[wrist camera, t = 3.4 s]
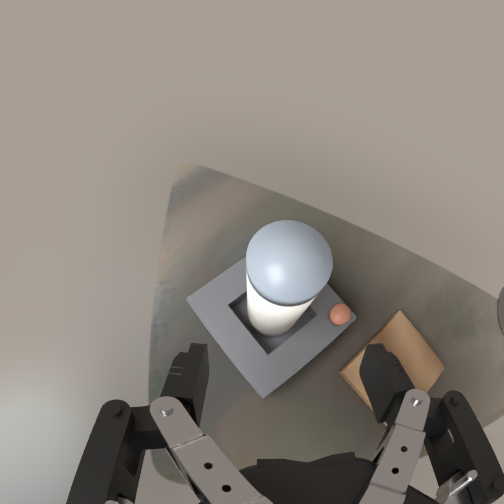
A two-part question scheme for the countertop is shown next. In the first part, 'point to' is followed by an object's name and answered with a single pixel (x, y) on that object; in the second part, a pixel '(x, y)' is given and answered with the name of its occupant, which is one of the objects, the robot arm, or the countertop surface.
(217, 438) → the countertop surface
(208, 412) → the countertop surface
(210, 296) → the block
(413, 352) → the pad
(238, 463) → the countertop surface
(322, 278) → the ball
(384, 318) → the countertop surface
